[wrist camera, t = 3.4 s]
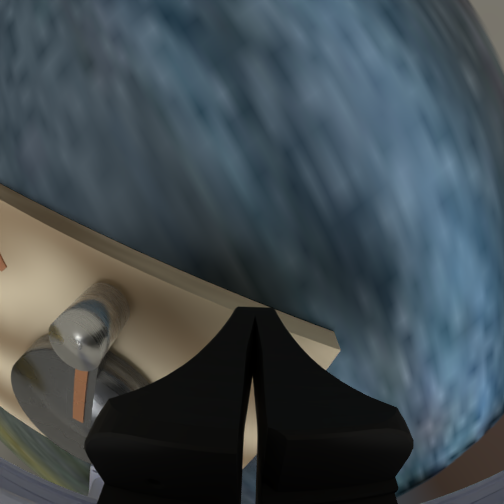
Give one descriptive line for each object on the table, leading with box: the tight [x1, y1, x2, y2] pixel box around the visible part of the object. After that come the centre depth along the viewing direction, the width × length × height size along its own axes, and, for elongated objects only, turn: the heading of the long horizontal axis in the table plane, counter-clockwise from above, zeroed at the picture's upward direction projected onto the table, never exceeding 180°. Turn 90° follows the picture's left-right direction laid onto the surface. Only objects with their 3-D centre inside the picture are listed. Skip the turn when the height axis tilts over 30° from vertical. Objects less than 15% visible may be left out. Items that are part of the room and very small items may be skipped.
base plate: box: [0, 184, 340, 469], centre depth 15 cm, size 18×20×2 cm
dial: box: [11, 282, 149, 464], centre depth 12 cm, size 13×9×3 cm
